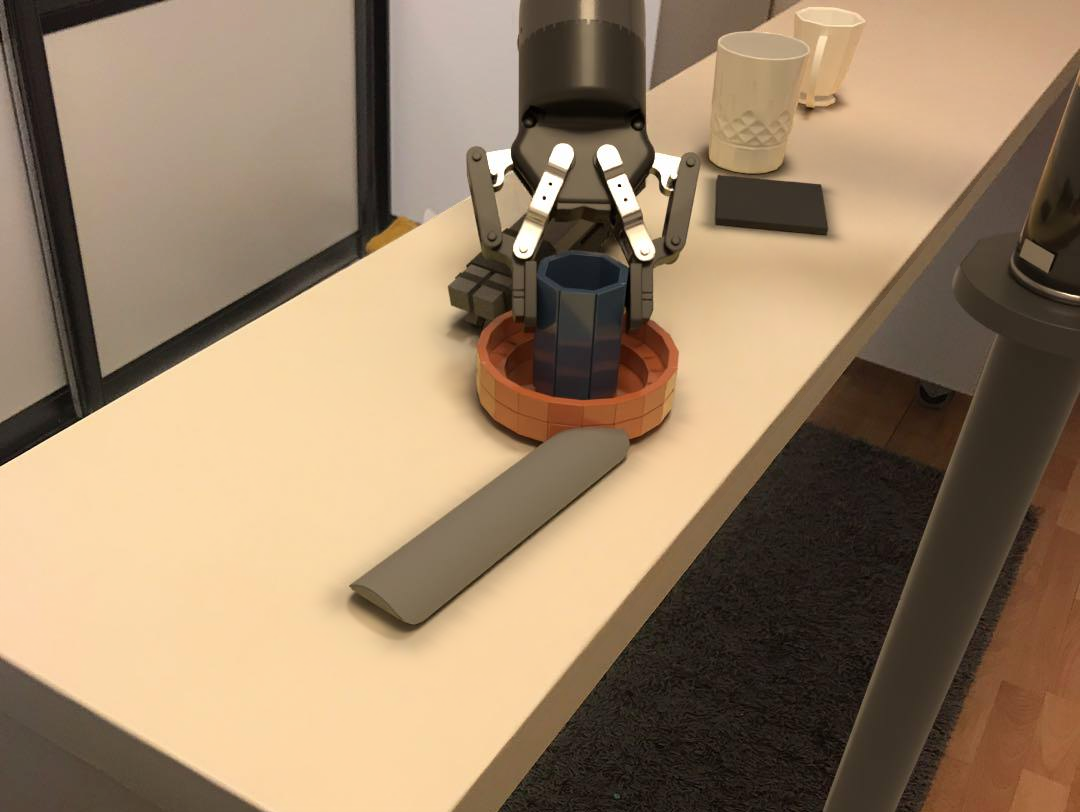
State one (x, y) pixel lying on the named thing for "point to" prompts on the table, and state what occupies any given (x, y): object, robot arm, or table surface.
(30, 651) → the table surface
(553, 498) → the gray half cylinder
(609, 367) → the octagonal grey canister
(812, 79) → the cup
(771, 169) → the white cup
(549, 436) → the big bowl
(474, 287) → the gun
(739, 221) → the mat
